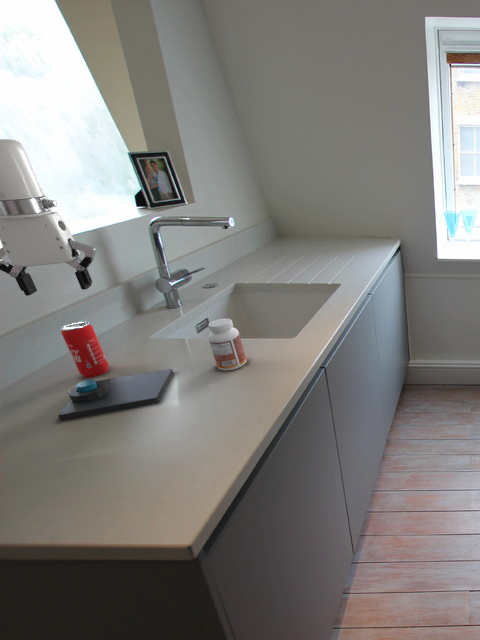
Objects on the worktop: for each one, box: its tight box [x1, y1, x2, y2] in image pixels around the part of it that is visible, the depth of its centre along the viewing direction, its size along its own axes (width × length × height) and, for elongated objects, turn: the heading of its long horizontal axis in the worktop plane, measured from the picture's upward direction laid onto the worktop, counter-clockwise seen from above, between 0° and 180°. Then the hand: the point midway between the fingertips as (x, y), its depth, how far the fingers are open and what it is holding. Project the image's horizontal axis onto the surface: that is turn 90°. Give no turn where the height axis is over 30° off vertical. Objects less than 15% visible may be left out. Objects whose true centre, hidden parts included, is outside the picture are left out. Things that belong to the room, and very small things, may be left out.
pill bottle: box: [207, 318, 247, 371], centre depth 103 cm, size 6×6×11 cm
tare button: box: [75, 379, 98, 393], centre depth 91 cm, size 3×3×2 cm
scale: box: [58, 368, 175, 422], centre depth 93 cm, size 16×13×3 cm
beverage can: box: [60, 320, 109, 378], centre depth 100 cm, size 5×5×12 cm
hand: (59, 290), depth 94 cm, fingers open, 9 cm apart
